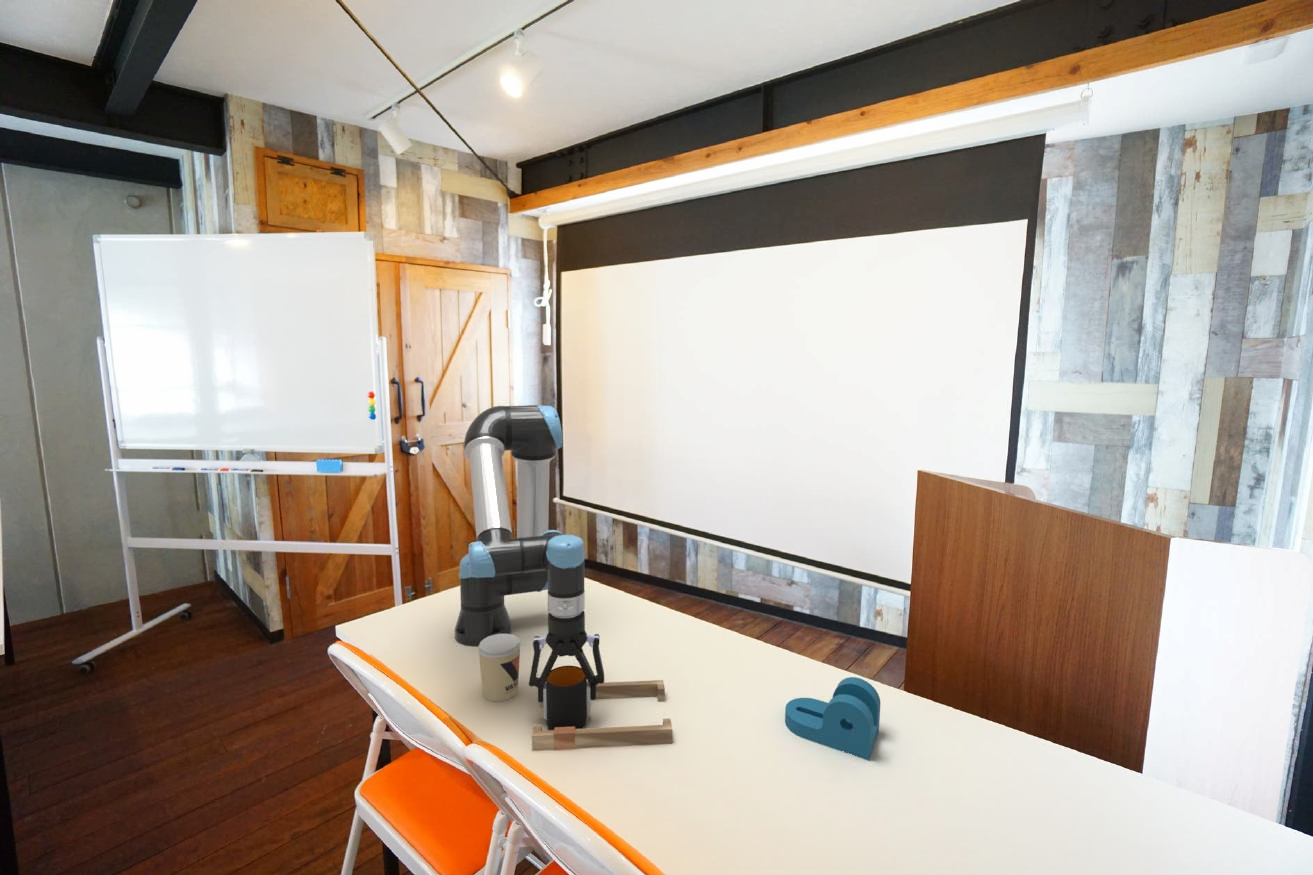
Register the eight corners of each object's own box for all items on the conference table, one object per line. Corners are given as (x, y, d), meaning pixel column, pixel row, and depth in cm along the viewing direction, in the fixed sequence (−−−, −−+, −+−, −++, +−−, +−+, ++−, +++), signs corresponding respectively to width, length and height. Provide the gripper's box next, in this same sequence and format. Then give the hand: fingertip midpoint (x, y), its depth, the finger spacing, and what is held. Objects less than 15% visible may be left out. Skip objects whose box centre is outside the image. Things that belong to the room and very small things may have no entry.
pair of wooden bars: (542, 696, 129) (542, 682, 128) (662, 691, 131) (663, 677, 131) (532, 750, 111) (531, 734, 110) (672, 743, 113) (672, 727, 113)
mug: (602, 706, 124) (602, 661, 123) (573, 739, 113) (572, 690, 112) (570, 697, 127) (569, 654, 126) (538, 728, 116) (537, 681, 115)
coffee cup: (510, 706, 125) (509, 654, 124) (471, 700, 127) (469, 649, 126) (528, 683, 134) (527, 635, 133) (491, 678, 136) (490, 630, 135)
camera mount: (878, 731, 118) (881, 684, 117) (868, 761, 109) (871, 710, 108) (793, 704, 127) (795, 660, 126) (778, 730, 118) (779, 682, 117)
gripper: (511, 620, 113) (514, 727, 115) (617, 617, 115) (617, 722, 117) (517, 605, 120) (519, 706, 123) (617, 602, 122) (616, 701, 125)
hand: (567, 714), depth 120 cm, fingers closed on mug, 8 cm apart
